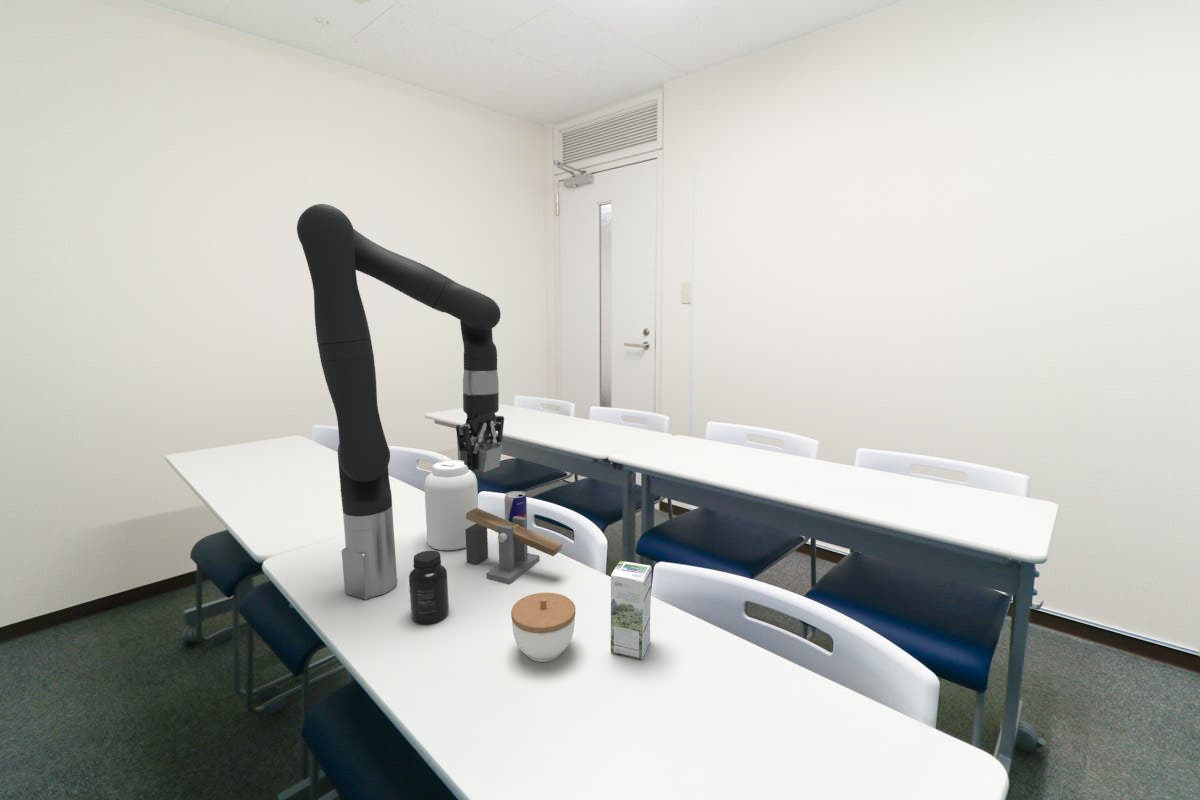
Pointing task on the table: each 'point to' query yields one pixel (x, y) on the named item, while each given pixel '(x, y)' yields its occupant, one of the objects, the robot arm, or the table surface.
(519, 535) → the beam
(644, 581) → the syrup box
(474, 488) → the white protein powder tub
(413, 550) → the table surface
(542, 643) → the lidded jar
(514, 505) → the energy drink
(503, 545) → the stand
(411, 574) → the supplement bottle
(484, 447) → the block
